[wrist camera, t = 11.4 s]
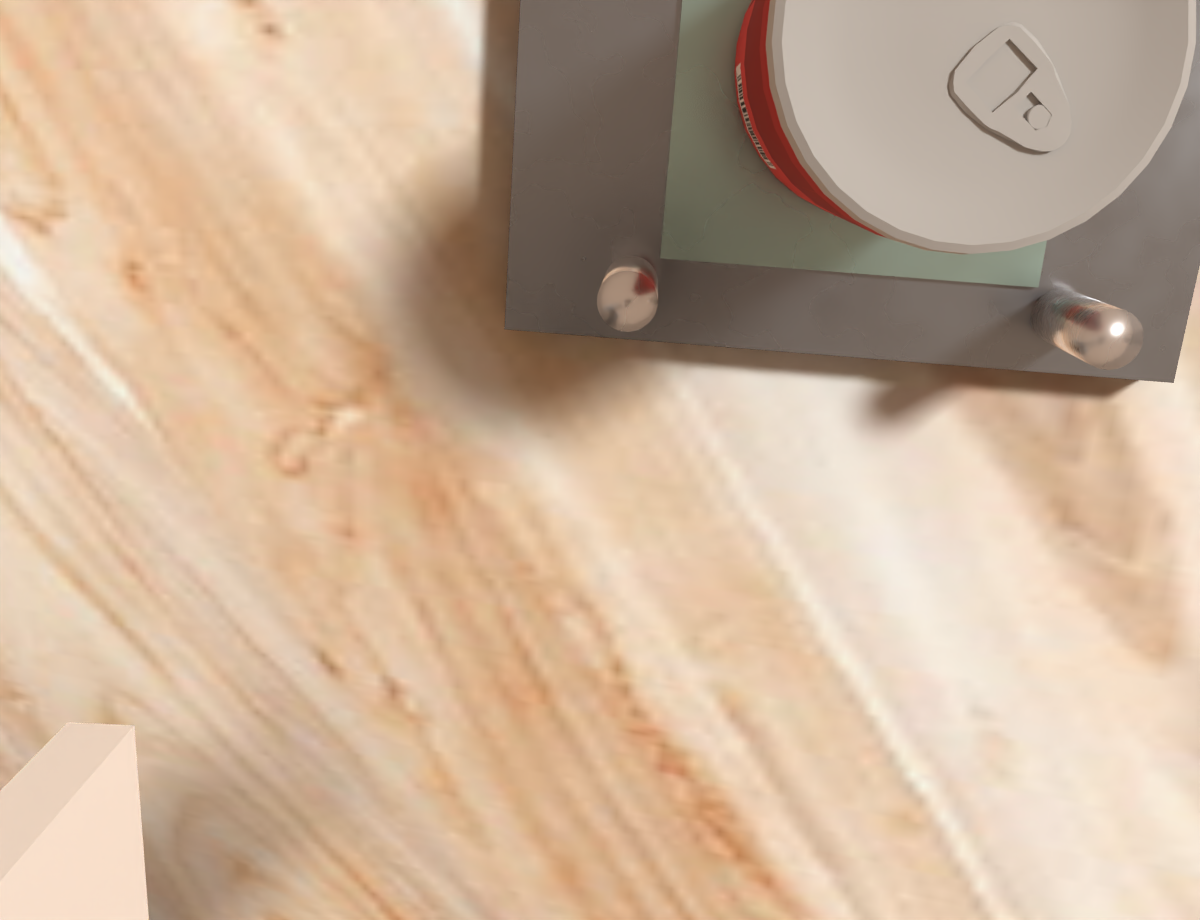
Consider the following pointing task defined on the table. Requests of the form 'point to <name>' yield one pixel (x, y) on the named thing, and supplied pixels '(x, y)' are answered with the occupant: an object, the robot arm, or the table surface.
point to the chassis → (798, 222)
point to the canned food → (962, 109)
